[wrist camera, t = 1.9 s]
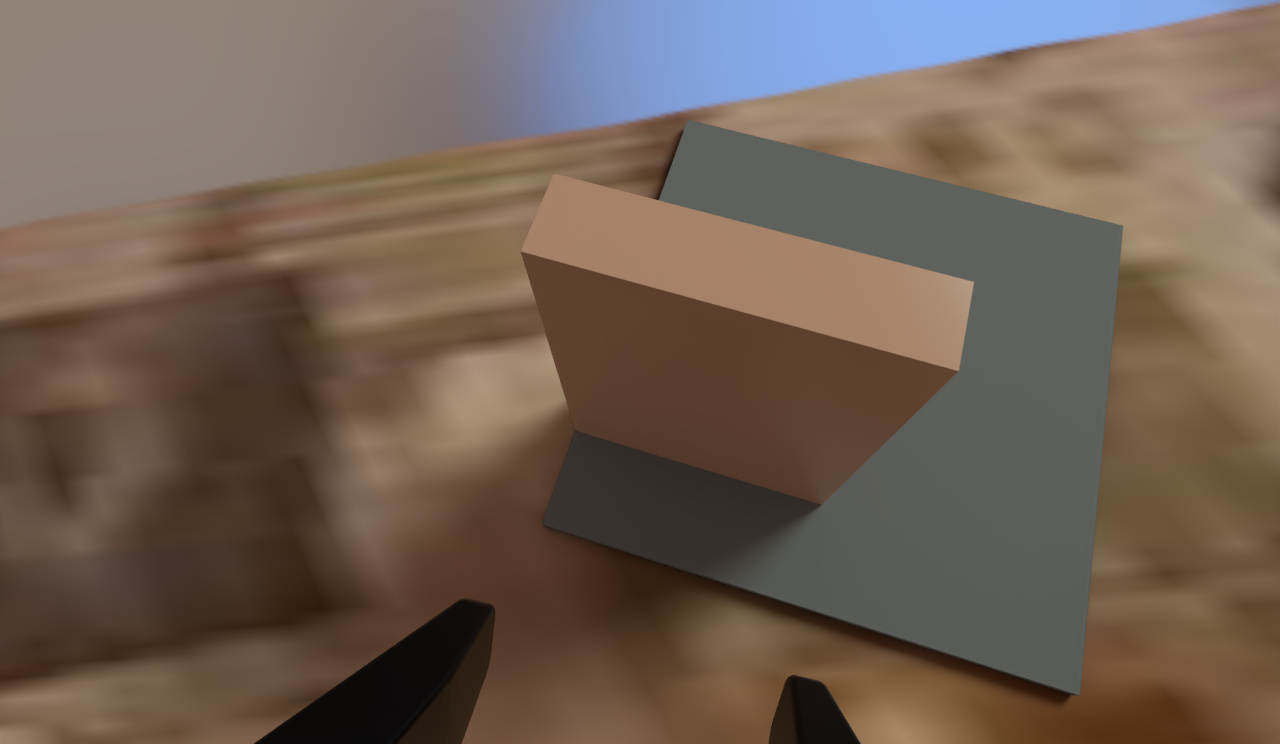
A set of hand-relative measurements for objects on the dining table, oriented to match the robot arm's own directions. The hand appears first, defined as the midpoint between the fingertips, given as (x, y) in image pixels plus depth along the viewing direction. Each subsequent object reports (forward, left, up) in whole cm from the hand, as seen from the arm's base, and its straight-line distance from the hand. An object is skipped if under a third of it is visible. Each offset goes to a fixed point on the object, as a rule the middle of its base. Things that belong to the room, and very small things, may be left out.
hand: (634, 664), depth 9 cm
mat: (+11, -4, -14) cm, 18 cm away
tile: (+7, 0, -13) cm, 15 cm away
